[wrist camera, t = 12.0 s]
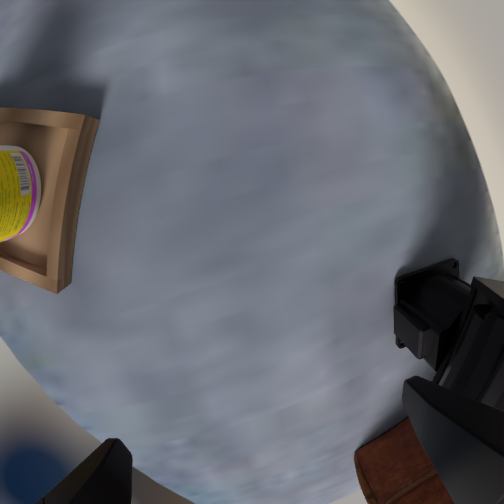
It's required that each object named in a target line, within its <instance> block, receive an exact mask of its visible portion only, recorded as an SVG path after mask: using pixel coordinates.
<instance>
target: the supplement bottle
mask: <svg viewBox="0 0 504 504" xmlns="http://www.w3.org/2000/svg"><path fill="white" fill-rule="evenodd" d="M40 199H41V179H40V174H39V170H38V167H37V165H36V162H35V161H34V159H33V157H32V156H31V155H30V154H29V153H28V152H27V151H26V150H25V149H23V148H21V147H18V146H7V145H0V243H1V242H3V241H6V240H8V239H11V238H13V237H15V236H17V235H19V234H21V233H23V232H24V231H26V230H27V229H28V228H29V227H30V225H31V224H32V222H33V221H34V219H35V217H36V215H37V212H38V209H39V205H40Z"/></svg>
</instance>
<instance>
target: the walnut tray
mask: <svg viewBox="0 0 504 504" xmlns="http://www.w3.org/2000/svg"><path fill="white" fill-rule="evenodd" d="M99 121H100V120H99V119H96V118H93V117H90V116H87V115H83V114H76V113H67V112H58V111H48V110H37V109H24V108H5V107H0V145H7V146H18V147H21V148H23V149H25V150H26V151H27V152H28V153H29V154H30V155H31V156H32V157H33V159H34V161H35V162H36V165H37V167H38V170H39V174H40V179H41V199H40V205H39V209H38V212H37V215H36V217H35V219H34V221H33V222H32V224H31V225H30V227H29V228H28V229H27V230H26V231H24V232H23V233H21V234H19V235H17V236H15V237H13V238H11V239H8V240H6V241H3V242H1V243H0V269H1V270H3V271H5V272H7V273H9V274H11V275H14V276H16V277H18V278H20V279H22V280H25V281H27V282H29V283H32V284H34V285H36V286H39V287H41V288H43V289H46V290H48V291H51V292H53V293H56V294H58V293H59V292H60V291H61V290H63V289H64V288H65V287H67V286H68V285H69V284H71V275H72V263H73V252H74V243H75V235H76V227H77V220H78V214H79V208H80V202H81V196H82V191H83V186H84V181H85V176H86V171H87V167H88V162H89V158H90V154H91V150H92V146H93V142H94V139H95V135H96V131H97V128H98V124H99Z"/></svg>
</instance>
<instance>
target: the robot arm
mask: <svg viewBox="0 0 504 504" xmlns="http://www.w3.org/2000/svg"><path fill="white" fill-rule="evenodd" d="M453 264H454V265H453ZM402 281H403V283H402V285H400V283H401V282H402ZM394 334H395V335H396V345H397V346H398V347H399V348H404V347H407V348H408V349H409V350H410V351H411V352H412V353H413V354H414V355H415V357H416V358H418V359H422V358H424V359H425V360H426V362H427V363H428V364H429V365H430V366H431V367H432V368H433V369H434V370H435V371H436V374H435V376H434V378H433V380H432V382H431V381H428V380H426V379H424V378H421V377H419V376H413V377H411V378H408V379H406V380H405V381H404V384H403V394H402V402H403V405H404V407H405V410H406V412H407V414H408V416H409V419H410V421H411V423H412V426H413V428H414V430H415V433H416V435H417V437H418V439H419V441H420V443H421V445H422V447H423V448H424V450H425V452H426V454H427V455H428V457H429V459H430V460H431V462H432V464H433V466H434V467H435V469H436V471H437V473H438V474H439V476H440V478H441V480H442V481H443V483H444V485H445V487H446V488H447V490H448V492H449V494H450V496H451V497H452V499H453V501H454V503H455V504H504V282H501V281H496V280H491V279H485V278H480V277H475V276H474V277H473V280H472V283H471V285H470V284H469V283H467V282H465V281H463V280H461V279H460V278H459V262H458V260H456V259H454V258H452V259H449V260H446V261H443V262H440V263H438V264H435V265H432V266H429V267H426V268H423V269H420V270H418V271H415V272H412V273H409V274H406V275H403V276H400V277H398V278H397V279H396V280H395V306H394ZM401 342H402V343H401ZM131 498H132V455H131V453H130V451H129V450H128V449H127V447H126V446H125V445H124V444H123V442H122V441H121V440H120V439H118V438H108V439H106V440H105V441H104V442H103V443H102V444H101V445H100V446H99V447H98V448H97V449H96V450H95V451H93V452H92V453H91V454H90V455H89V456H88V457H87V458H86V459H85V460H84V461H83V462H82V463H80V464H79V466H77V467H76V468H75V469H74V470H73V471H72V472H71V473H69V474H68V475H67V476H66V477H65V478H64V479H63V480H62V481H61V482H59V483H58V484H57V485H56V486H55V487H54V488H53V489H51V490H50V491H49V492H48V493H47V494H46V495H45V496H44V497H42V498H41V499H40V500H39V501H38V502H36V503H35V504H131Z"/></svg>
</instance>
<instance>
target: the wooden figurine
mask: <svg viewBox="0 0 504 504" xmlns="http://www.w3.org/2000/svg"><path fill="white" fill-rule="evenodd" d="M354 462H355V466H356V467H355V468H356V473H357V477H358V480H359V484H360V486H361V489H362V492H363V494H364V496H365V499H366V501H367V503H368V504H455V503H454V501H453V499H452V497H451V496H450V494H449V492H448V490H447V488H446V487H445V485H444V483H443V481H442V480H441V478H440V476H439V474H438V473H437V471H436V469H435V467H434V466H433V464H432V462H431V460H430V459H429V457H428V455H427V454H426V452H425V450H424V448H423V447H422V445H421V443H420V441H419V439H418V437H417V435H416V433H415V430H414V428H413V426H412V423H411V421H410V419H409V417H408V418H407V419H405V420H404V421H403V422H401V423H399V424H398V425H397V426H396V427H394V428H393V429H391V430H390V431H388V432H387V433H385V434H384V435H382V436H380V437H379V438H377V439H375V440H374V441H372V442H370V443H369V444H367V445H365V446H363V447H362V448H360V449H358V450H357V452H356V453H355V455H354Z"/></svg>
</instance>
